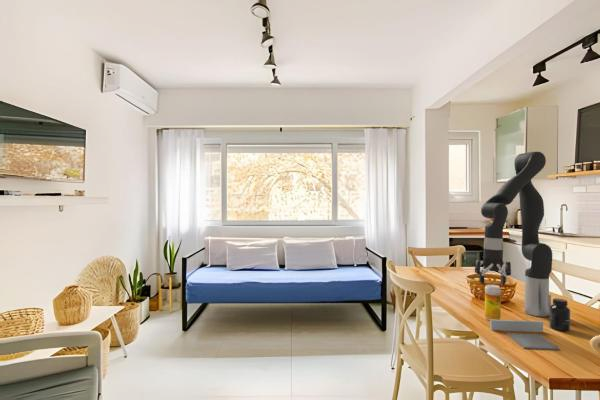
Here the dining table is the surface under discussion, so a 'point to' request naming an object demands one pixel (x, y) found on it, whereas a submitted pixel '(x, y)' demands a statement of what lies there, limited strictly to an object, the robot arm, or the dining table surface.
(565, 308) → the supplement bottle
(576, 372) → the dining table surface
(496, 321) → the acrylic wall
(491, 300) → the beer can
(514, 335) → the slate coaster
